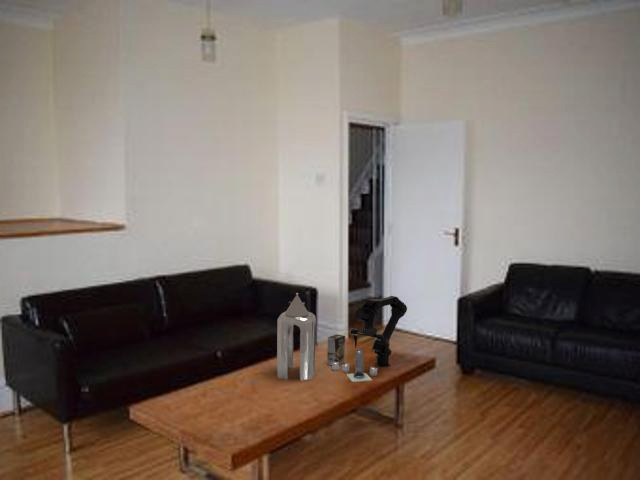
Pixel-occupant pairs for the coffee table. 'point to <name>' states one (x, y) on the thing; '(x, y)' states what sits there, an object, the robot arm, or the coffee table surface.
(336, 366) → the cylinder
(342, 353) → the coffee box
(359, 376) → the standoff
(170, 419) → the coffee table surface
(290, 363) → the grey metal tall arch
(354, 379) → the pad
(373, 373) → the cylinder
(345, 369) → the cylinder
